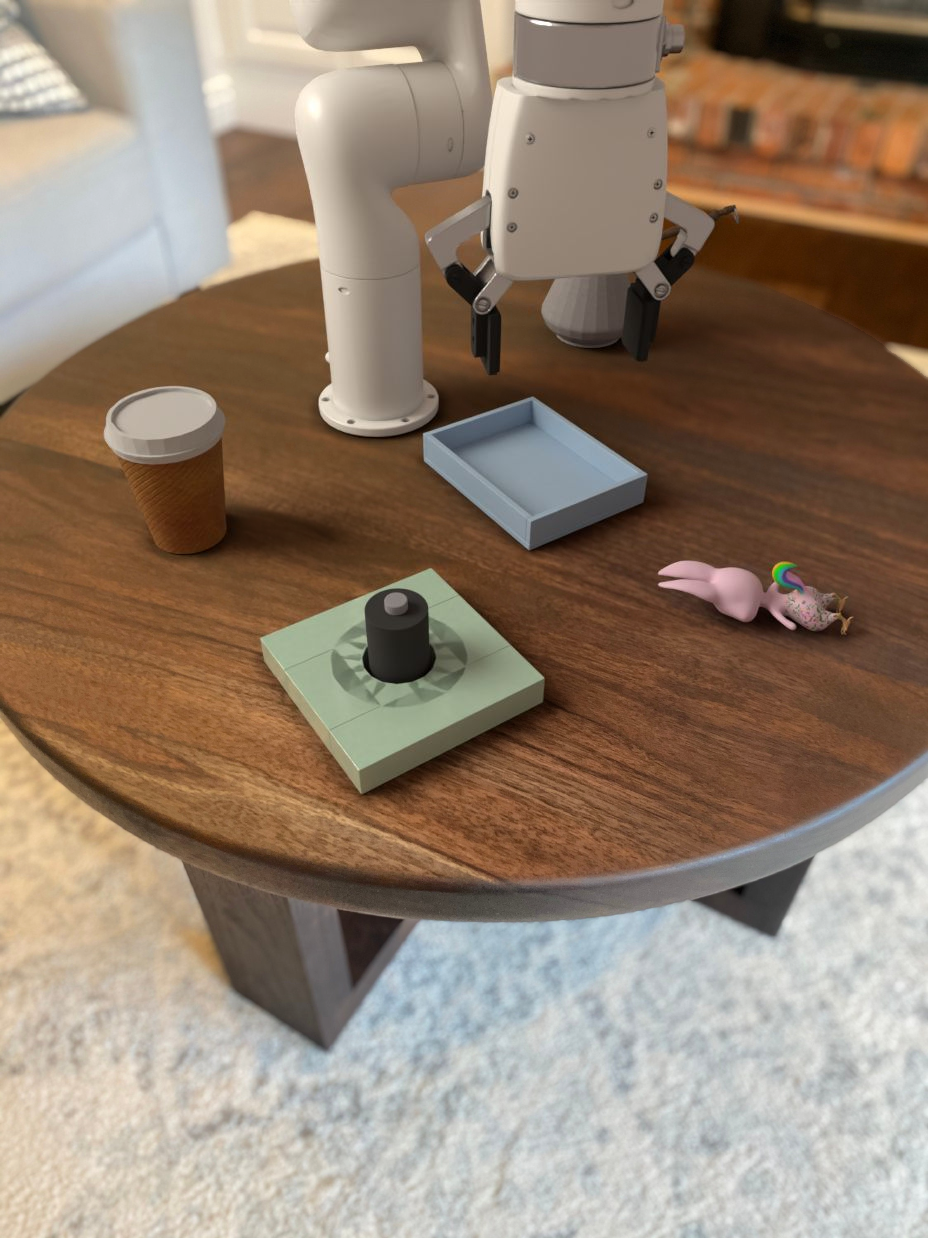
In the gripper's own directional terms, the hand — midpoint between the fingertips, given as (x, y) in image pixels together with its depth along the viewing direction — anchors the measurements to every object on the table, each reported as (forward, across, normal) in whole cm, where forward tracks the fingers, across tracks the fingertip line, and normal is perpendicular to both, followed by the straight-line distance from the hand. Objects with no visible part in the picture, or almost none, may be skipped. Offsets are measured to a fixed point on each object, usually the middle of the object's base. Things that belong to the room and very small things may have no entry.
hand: (562, 358), depth 60 cm
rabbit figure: (+22, -16, +3) cm, 28 cm away
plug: (+22, +12, +5) cm, 26 cm away
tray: (+22, -4, -19) cm, 29 cm away
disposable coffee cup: (+22, +28, -17) cm, 39 cm away
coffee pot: (+22, -23, -48) cm, 57 cm away
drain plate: (+22, +12, +5) cm, 26 cm away
